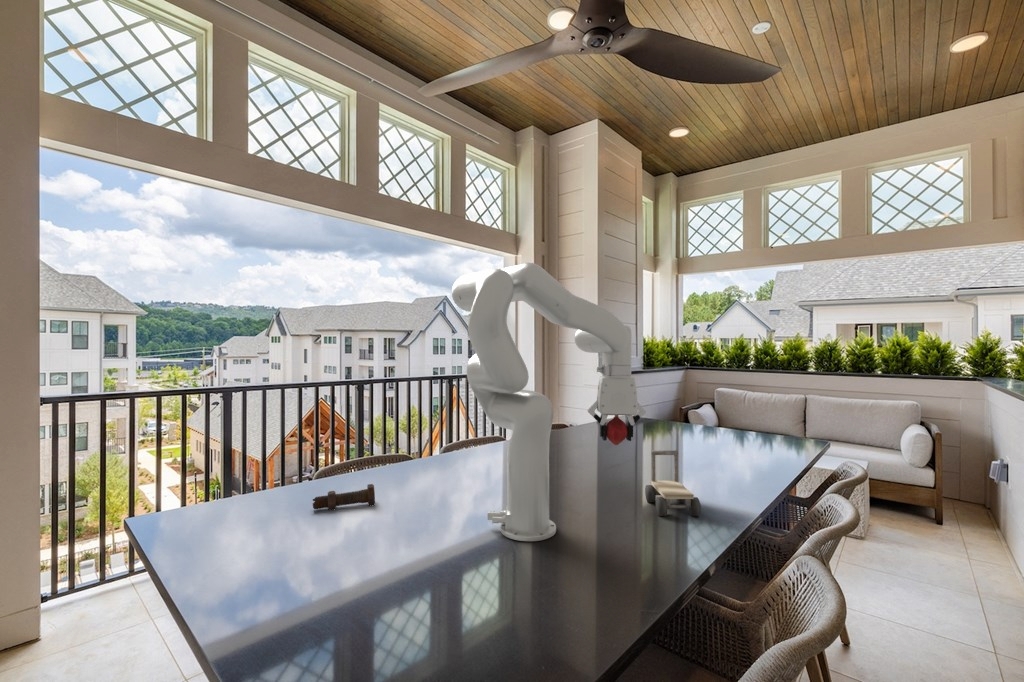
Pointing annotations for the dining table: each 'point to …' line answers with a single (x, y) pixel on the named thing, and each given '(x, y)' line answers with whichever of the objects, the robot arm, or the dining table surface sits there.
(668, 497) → the trolley
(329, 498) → the bolt
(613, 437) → the onion
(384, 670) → the dining table surface
